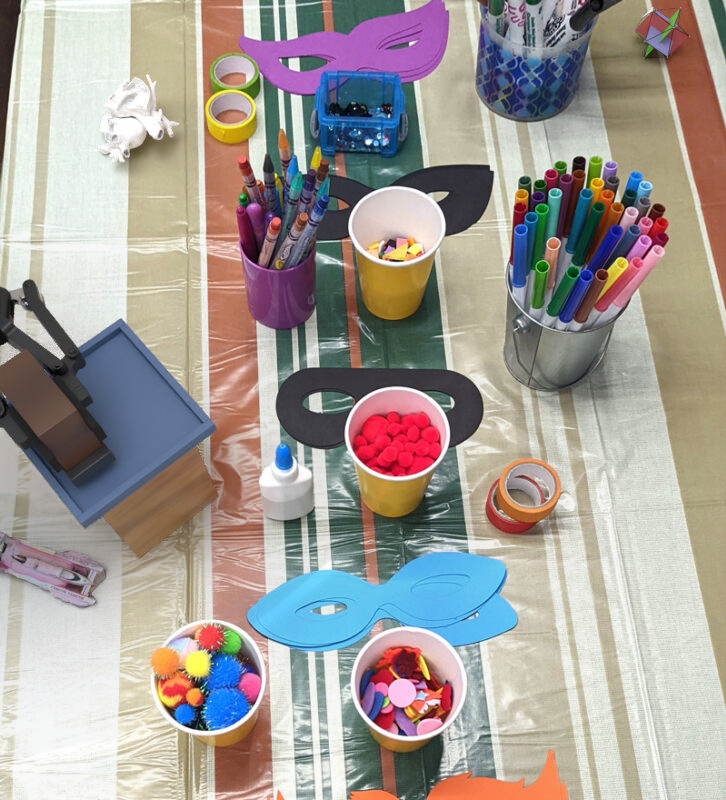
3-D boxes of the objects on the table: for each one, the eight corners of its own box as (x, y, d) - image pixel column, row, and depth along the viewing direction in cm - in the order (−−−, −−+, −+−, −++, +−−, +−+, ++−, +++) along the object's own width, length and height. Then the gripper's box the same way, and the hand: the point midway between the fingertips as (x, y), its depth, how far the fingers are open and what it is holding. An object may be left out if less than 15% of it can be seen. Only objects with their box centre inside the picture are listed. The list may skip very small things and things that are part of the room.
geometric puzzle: (699, 32, 132) (682, -14, 127) (689, 65, 130) (671, 19, 124) (653, 45, 137) (635, 1, 131) (642, 77, 134) (623, 34, 129)
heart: (139, 61, 125) (176, 103, 119) (161, 99, 131) (197, 140, 125) (70, 111, 125) (104, 154, 119) (95, 146, 130) (129, 189, 125)
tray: (-5, 415, 90) (-11, 408, 88) (124, 325, 93) (120, 317, 92) (85, 529, 85) (80, 524, 84) (217, 430, 89) (214, 423, 88)
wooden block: (81, 487, 108) (22, 417, 89) (160, 428, 111) (120, 349, 92) (138, 558, 105) (90, 501, 86) (219, 496, 108) (189, 428, 89)
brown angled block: (20, 416, 87) (-22, 368, 78) (58, 389, 88) (22, 338, 79) (77, 488, 85) (41, 447, 75) (116, 459, 86) (86, 415, 76)
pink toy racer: (111, 566, 105) (102, 556, 101) (91, 610, 103) (81, 601, 99) (10, 533, 106) (-3, 521, 102) (-11, 575, 104) (-25, 565, 100)
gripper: (29, 254, 91) (164, 410, 84) (-119, 350, 87) (12, 522, 80) (0, 206, 84) (146, 373, 77) (-161, 309, 80) (-22, 493, 73)
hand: (78, 448), depth 79 cm, fingers closed on brown angled block, 4 cm apart
